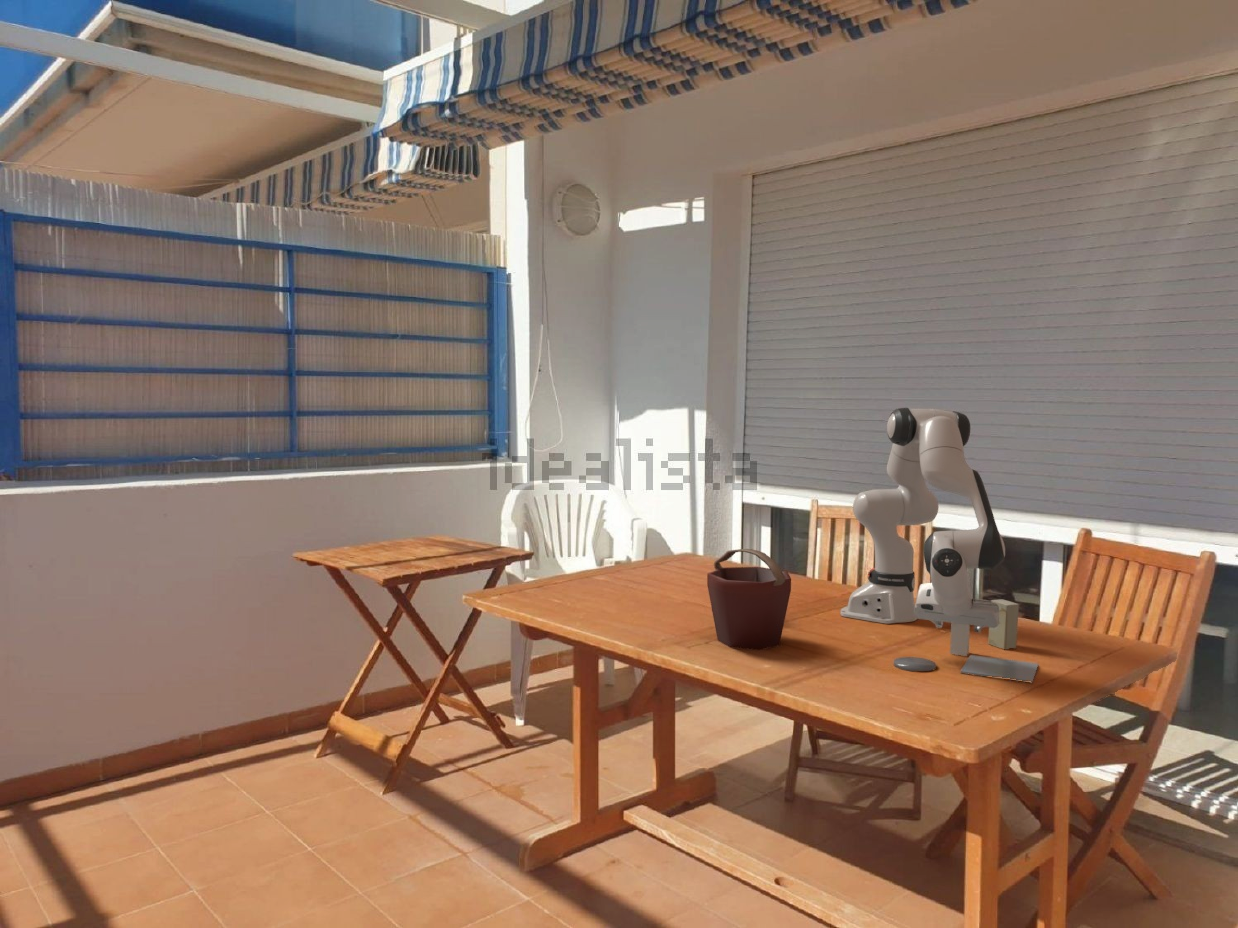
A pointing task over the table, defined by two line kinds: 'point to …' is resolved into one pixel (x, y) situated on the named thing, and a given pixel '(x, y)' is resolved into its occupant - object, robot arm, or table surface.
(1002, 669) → the tile
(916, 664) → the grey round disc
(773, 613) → the bucket
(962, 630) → the block
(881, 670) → the table surface
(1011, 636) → the skincare box
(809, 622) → the table surface
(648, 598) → the table surface
